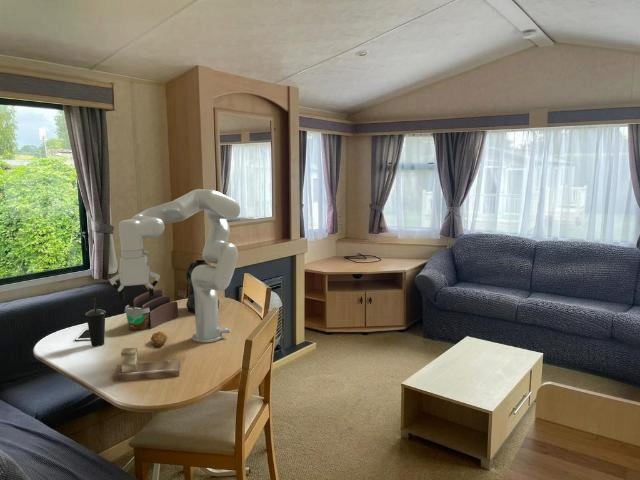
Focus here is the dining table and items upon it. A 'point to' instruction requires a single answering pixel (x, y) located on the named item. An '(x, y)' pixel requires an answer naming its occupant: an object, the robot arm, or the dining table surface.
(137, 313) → the food container
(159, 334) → the croissant
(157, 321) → the letter holder
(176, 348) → the dining table surface
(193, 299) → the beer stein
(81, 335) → the cell phone
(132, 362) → the block
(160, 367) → the walnut board
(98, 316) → the drinking cup
